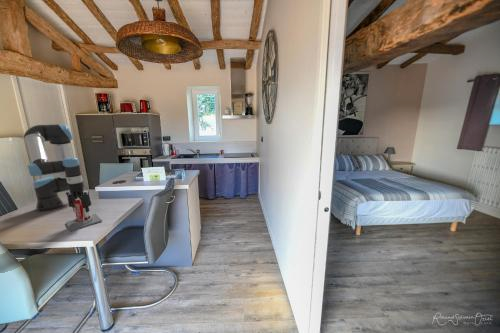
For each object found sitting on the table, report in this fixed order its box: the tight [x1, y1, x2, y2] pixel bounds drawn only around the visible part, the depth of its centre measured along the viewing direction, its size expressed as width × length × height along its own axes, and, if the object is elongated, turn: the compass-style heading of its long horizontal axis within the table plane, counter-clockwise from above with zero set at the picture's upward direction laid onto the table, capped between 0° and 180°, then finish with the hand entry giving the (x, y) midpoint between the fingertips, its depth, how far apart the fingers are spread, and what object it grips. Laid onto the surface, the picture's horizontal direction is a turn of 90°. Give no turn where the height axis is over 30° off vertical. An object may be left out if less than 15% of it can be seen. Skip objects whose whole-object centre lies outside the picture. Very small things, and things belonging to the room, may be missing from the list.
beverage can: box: [74, 198, 88, 221], centre depth 131 cm, size 6×6×15 cm
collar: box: [72, 214, 94, 225], centre depth 133 cm, size 10×10×2 cm
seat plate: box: [65, 213, 103, 232], centre depth 133 cm, size 16×16×1 cm
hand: (82, 216), depth 133 cm, fingers closed on beverage can, 6 cm apart
